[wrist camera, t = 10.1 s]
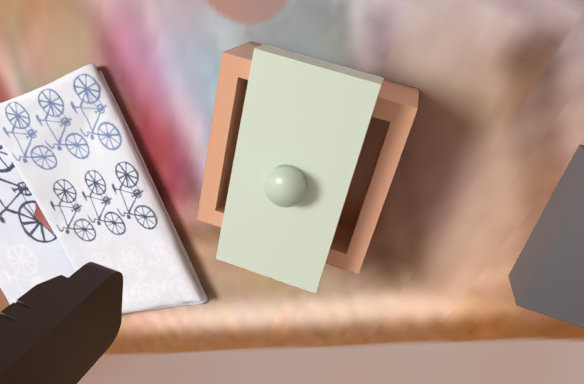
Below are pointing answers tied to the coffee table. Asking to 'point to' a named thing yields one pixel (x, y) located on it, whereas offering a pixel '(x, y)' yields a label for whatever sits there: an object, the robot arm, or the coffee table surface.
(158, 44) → the coffee table surface
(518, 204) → the coffee table surface
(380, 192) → the salmon open box
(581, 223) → the block
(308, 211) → the lid
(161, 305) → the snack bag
